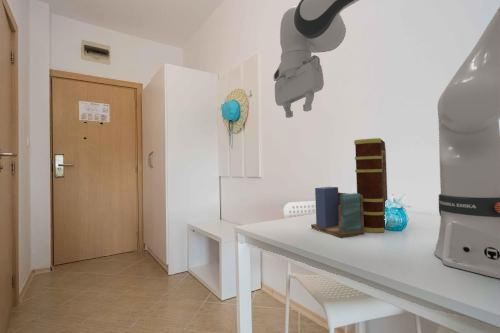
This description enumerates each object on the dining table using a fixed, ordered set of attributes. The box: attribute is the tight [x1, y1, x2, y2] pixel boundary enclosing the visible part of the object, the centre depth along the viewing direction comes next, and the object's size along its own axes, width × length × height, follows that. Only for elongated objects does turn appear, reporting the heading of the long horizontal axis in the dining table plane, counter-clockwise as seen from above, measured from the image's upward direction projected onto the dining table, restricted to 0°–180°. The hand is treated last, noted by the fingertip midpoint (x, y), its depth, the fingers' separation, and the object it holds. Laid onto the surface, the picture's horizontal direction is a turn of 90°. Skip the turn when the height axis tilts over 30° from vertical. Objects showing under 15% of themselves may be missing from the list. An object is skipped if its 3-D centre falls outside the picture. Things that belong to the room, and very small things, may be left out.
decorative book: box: [353, 137, 388, 234], centre depth 92 cm, size 22×8×30 cm, turn 148°
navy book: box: [314, 186, 339, 228], centre depth 89 cm, size 4×7×13 cm, turn 123°
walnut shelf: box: [310, 191, 365, 239], centre depth 87 cm, size 15×9×13 cm, turn 23°
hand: (297, 114), depth 76 cm, fingers open, 8 cm apart
